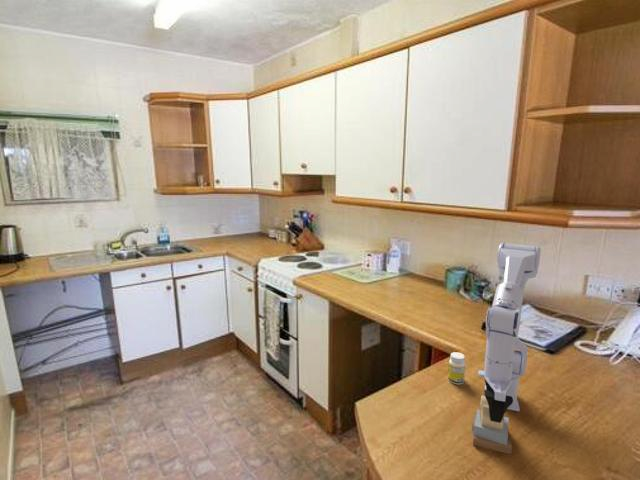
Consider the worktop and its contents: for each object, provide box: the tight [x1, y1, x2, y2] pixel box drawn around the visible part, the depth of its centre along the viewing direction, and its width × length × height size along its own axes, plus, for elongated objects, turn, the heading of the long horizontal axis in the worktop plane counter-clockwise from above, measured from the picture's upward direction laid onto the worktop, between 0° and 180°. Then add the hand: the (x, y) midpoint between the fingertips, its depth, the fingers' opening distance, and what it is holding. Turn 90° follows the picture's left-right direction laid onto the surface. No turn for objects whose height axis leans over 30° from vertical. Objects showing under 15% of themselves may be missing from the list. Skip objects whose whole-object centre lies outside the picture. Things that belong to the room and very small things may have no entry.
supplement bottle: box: [447, 351, 466, 385], centre depth 110 cm, size 5×5×8 cm
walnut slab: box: [471, 416, 513, 455], centre depth 87 cm, size 8×8×2 cm
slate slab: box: [474, 408, 510, 446], centre depth 87 cm, size 7×7×2 cm
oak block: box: [479, 395, 505, 430], centre depth 86 cm, size 4×4×5 cm
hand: (493, 410), depth 86 cm, fingers open, 7 cm apart
